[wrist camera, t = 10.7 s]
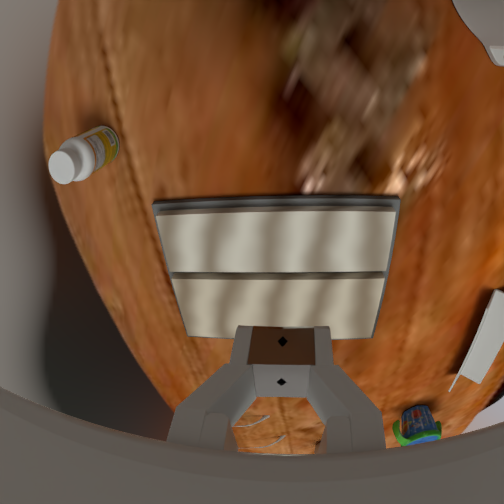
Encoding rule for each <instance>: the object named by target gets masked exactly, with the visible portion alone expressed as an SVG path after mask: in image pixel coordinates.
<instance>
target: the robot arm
mask: <svg viewBox="0 0 504 504" xmlns="http://www.w3.org/2000/svg"><path fill="white" fill-rule="evenodd" d="M452 1H453V3H454V6H455V8H456V10H457V12H458V13H459V15H460V17H461V18H462V20H463V21H464V23H465V24H466V25H467V27H468V28H469V29H470V30H471V31H472V32H473V33H474V35H475V36H476V37H477V38H478V39H479V40H480V41H481V42H482V43H483V45H484V47H485V49H486V51H487V53H488V55H489V57H490V59H491V60H492V62H493V63H494V64H495V65H497V66H504V0H452ZM256 397H307V399H308V401H309V402H310V404H311V405H312V407H313V408H314V410H315V411H316V413H317V414H318V416H319V417H320V419H321V420H322V422H323V423H324V425H325V429H324V432H323V435H322V439H321V442H320V446H319V449H318V454H268V453H250V452H238V446H237V443H236V439H235V436H234V433H233V430H232V427H233V425H234V424H235V423H236V422H237V421H238V419H239V418H240V417H241V416H242V415H243V413H244V412H245V411H246V410H247V409H248V407H249V406H250V405H251V404H252V403H253V401H254V400H255V399H256ZM0 504H504V422H501V423H498V424H495V425H492V426H489V427H486V428H482V429H479V430H475V431H472V432H468V433H465V434H460V435H456V436H452V437H448V438H444V439H439V440H435V441H430V442H425V443H419V444H414V445H408V446H401V447H395V448H387V449H386V444H385V436H384V428H383V420H382V413H381V411H380V410H379V409H378V408H377V407H376V406H375V405H374V404H373V403H372V402H371V400H370V399H369V398H368V397H367V396H366V395H365V394H364V393H363V392H362V391H361V390H360V388H359V387H358V386H357V385H356V384H355V383H354V382H353V381H352V380H351V379H350V378H349V376H348V375H347V374H346V373H345V372H344V371H343V370H342V369H341V368H340V367H339V365H334V363H333V352H332V342H331V332H330V327H329V326H314V327H313V326H294V327H272V326H243V325H238V327H237V329H236V333H235V338H234V343H233V348H232V353H231V358H230V363H229V364H224V365H223V366H222V367H221V368H220V369H218V370H217V371H216V372H215V373H214V374H213V375H212V376H211V377H210V378H209V379H207V380H206V381H205V382H204V383H203V384H202V385H201V386H200V387H199V388H197V389H196V390H195V391H194V392H193V393H192V394H191V395H190V396H188V397H187V398H186V399H185V400H184V401H183V402H182V403H180V404H179V405H178V406H177V407H176V410H175V414H174V417H173V420H172V424H171V427H170V430H169V434H168V437H167V441H166V442H165V441H160V440H155V439H150V438H146V437H141V436H137V435H133V434H129V433H124V432H121V431H117V430H113V429H110V428H106V427H103V426H99V425H96V424H92V423H90V422H86V421H83V420H80V419H77V418H74V417H71V416H68V415H66V414H63V413H60V412H57V411H55V410H52V409H50V408H47V407H45V406H42V405H40V404H37V403H35V402H32V401H30V400H28V399H25V398H23V397H21V396H19V395H16V394H14V393H12V392H10V391H8V390H6V389H3V388H2V387H0Z"/></svg>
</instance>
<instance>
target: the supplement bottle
mask: <svg viewBox="0 0 504 504" xmlns="http://www.w3.org/2000/svg"><path fill="white" fill-rule="evenodd" d="M118 151H119V140H118V137H117V135H116V134H115V132H114V131H113V130H112V129H111V128H109V127H106V126H98V127H95V128H92V129H90V130H88V131H86V132H83V133H81V134H79V135H76V136H74V137H72V138H70V139H68V140H66V141H65V142H64V143H63V144H62V145H61V147H60V149H59V150H58V151H56V152H54V153H53V154H52V155H51V157H50V159H49V171H50V174H51V176H52V177H53V179H54V180H55V181H57V182H58V183H60V184H68V183H70V182H71V181H81V180H84V179H86V178H87V177H89V176H90V175H92V174H93V173H95V172H96V171H98V170H99V169H101V168H102V167H104V166H105V165H107V164H108V163H110V162H111V161H113V160H114V159H115V157H116V156H117V154H118Z"/></svg>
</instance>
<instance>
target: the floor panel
mask: <svg viewBox="0 0 504 504" xmlns="http://www.w3.org/2000/svg"><path fill="white" fill-rule="evenodd" d="M152 208H153V213H154V217H155V221H156V225H157V230H158V234H159V238H160V242H161V246H162V250H163V253H164V257H165V261H166V265H167V269H168V272H169V276H170V279H171V283H172V277H173V275H174V273H359V272H383V275H384V278H385V280H384V285H383V289H382V294H381V298H380V303H379V307H378V311H377V315H376V319H375V323H374V327H373V331H372V335H371V338H373V336H374V332H375V328H376V324H377V320H378V317H379V313H380V308H381V304H382V300H383V296H384V291H385V287H386V282H387V278H388V273H389V268H390V263H391V257H392V252H393V246H394V241H395V235H396V228H397V222H398V215H399V208H400V198H399V197H397V196H352V195H298V196H251V197H224V198H202V199H184V200H168V201H154V202H153V204H152ZM172 287H173V290H174V286H173V283H172ZM174 294H175V290H174ZM175 297H176V294H175ZM176 300H177V297H176ZM177 304H178V300H177ZM178 307H179V304H178ZM179 311H180V307H179ZM180 314H181V311H180ZM181 317H182V314H181ZM182 320H183V317H182ZM183 324H184V321H183ZM184 327H185V324H184ZM185 330H186V327H185ZM186 333H187V330H186ZM187 336H188V333H187ZM189 337H200V336H189ZM205 338H218V337H205ZM224 339H234V338H224ZM348 339H366V338H348ZM331 340H340V339H331Z"/></svg>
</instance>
